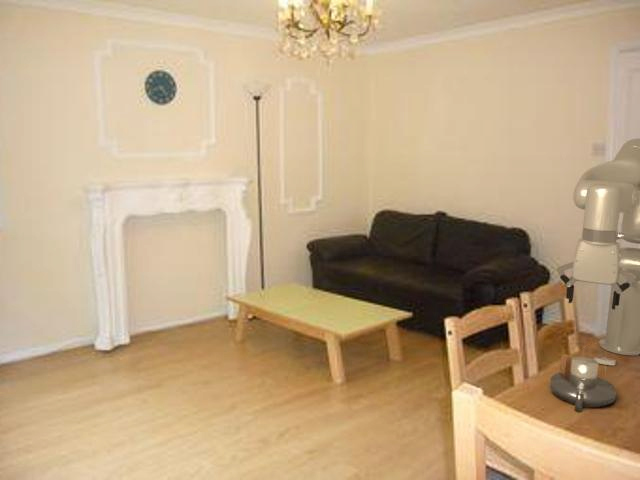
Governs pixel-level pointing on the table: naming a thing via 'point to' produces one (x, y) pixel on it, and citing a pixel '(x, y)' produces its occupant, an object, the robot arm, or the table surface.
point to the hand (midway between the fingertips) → (591, 304)
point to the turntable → (565, 390)
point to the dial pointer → (579, 401)
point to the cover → (584, 373)
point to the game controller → (605, 361)
